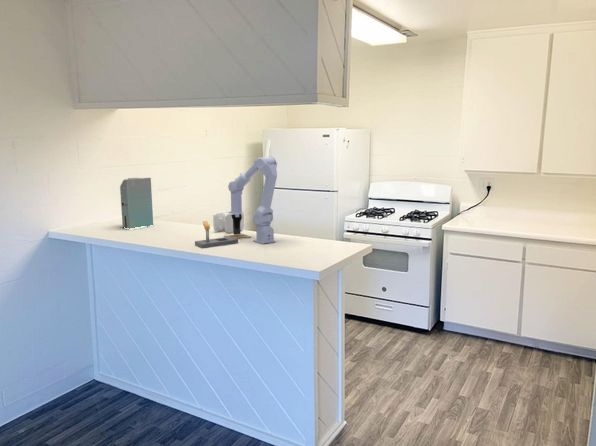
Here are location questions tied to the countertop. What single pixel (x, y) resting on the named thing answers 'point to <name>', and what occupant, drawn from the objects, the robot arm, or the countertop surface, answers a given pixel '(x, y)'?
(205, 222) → the clip
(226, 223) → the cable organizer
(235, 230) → the plug
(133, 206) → the device
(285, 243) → the countertop surface
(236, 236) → the cork mat
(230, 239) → the grey base with posts
